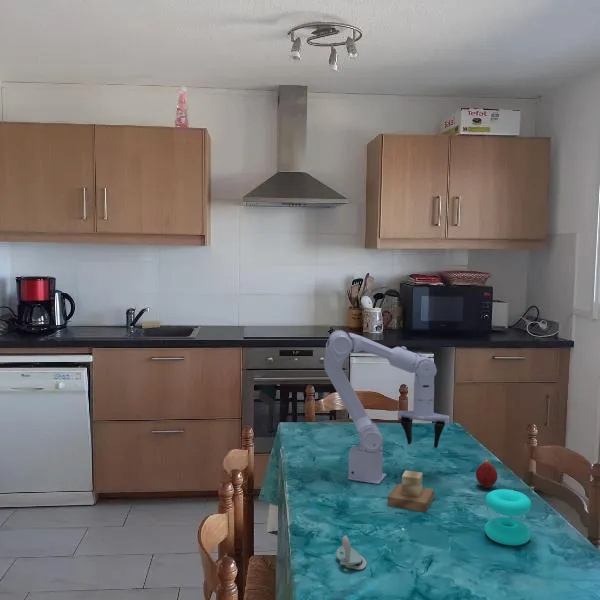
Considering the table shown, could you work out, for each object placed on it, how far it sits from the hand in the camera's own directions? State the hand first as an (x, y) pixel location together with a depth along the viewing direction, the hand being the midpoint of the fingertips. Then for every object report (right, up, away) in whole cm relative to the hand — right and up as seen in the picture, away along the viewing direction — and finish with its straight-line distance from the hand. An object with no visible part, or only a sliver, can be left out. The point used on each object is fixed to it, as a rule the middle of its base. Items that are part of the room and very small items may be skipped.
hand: (422, 445), depth 179 cm
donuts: (+12, -13, -36) cm, 40 cm away
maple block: (-6, -9, -16) cm, 19 cm away
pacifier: (-24, -14, -48) cm, 56 cm away
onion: (+17, -11, -6) cm, 21 cm away
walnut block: (-6, -12, -16) cm, 21 cm away
